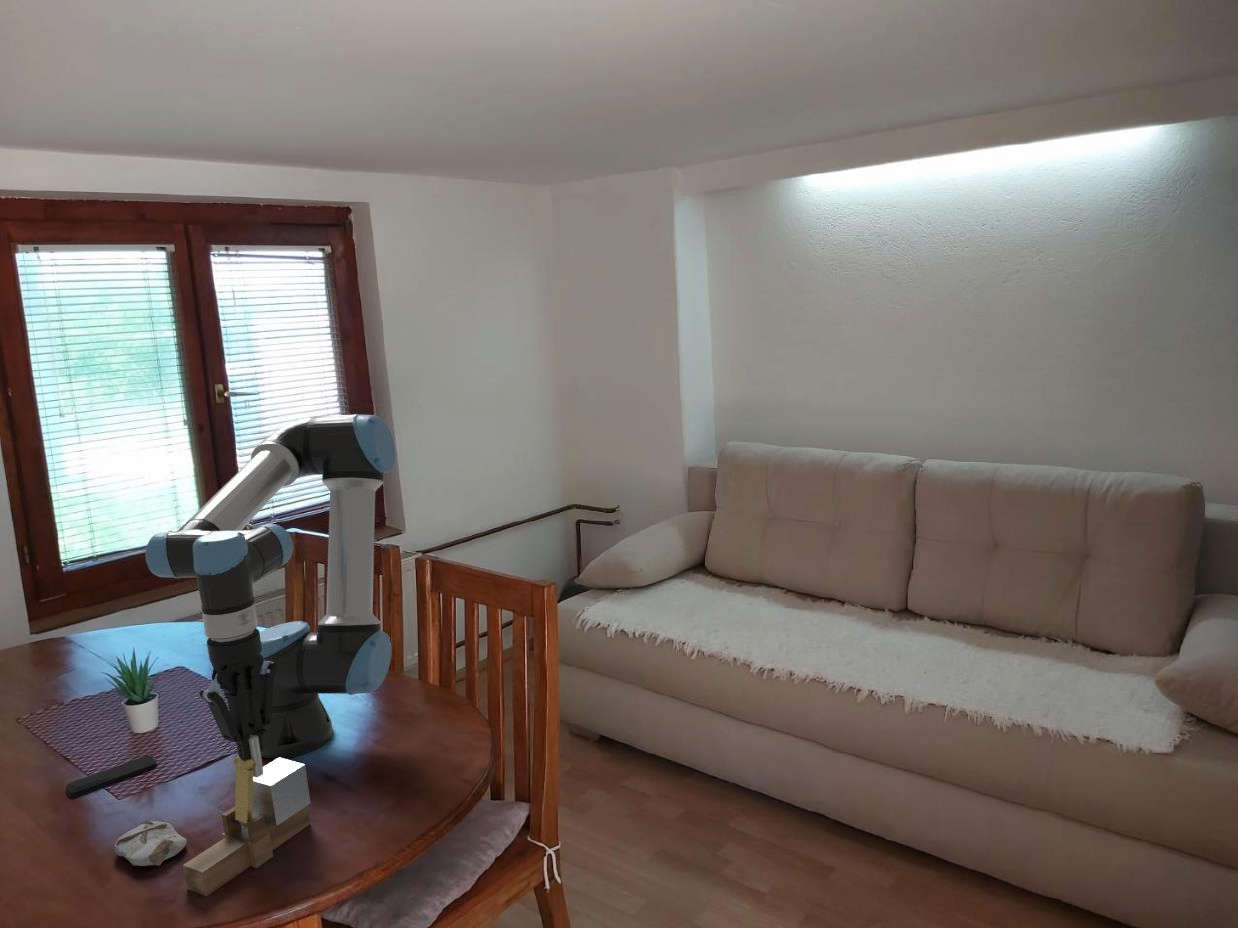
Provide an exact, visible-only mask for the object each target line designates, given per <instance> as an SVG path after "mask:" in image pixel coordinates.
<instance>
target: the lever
mask: <svg viewBox="0 0 1238 928" xmlns="http://www.w3.org/2000/svg"><path fill="white" fill-rule="evenodd" d="M232 763H233V766H234V767H235V793H234V794H235V795H234V796H235V797H234V798H235V799H234V802H235V803H234V807H235V817H234V818H233V820H232V821H233V823H236V824H239V825H242V826H245V827H247V822H249V821H250V820H252V819H254V818H253V769H254V768H255V766H256V762H255V761H254V760H251V759H248V760H243V759H240V757H239V755H238V756H236V757H234V759H233V762H232Z"/></svg>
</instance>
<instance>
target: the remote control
mask: <svg viewBox="0 0 1238 928" xmlns="http://www.w3.org/2000/svg"><path fill="white" fill-rule="evenodd" d="M157 767H158V764H157V762H156V760H155V758H154V757H153V756H152V755H144V756H141V757H139V758H136V759H133V760H131V761H128V762H124V763H122V764H119V765H116V766H114V767H110V768H107V769H104V770H102V771H98V772H95V773H93V774H91V775H87V776H85V777H83V778H79V779H76V780H74V781H73V780H72V781H71V782H69V783H67V784H66V785H65V792H66V794H67V795H68V797H69V798H72V799H73V798H78V797H79V796H83V795H86V794H88V793H91V792H94V791H96V790H100V789H102V788H105V787H108V786H110V785H113V784H115V783H118V782H120V781H121V782H122V781H125V780H126V779H129V778H132V777H135V776H137V775H140V774H144V773H145V772H148V771H151V770H154V769H157Z"/></svg>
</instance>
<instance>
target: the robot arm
mask: <svg viewBox="0 0 1238 928" xmlns="http://www.w3.org/2000/svg"><path fill="white" fill-rule="evenodd" d="M395 445H396V444H395V441H394V437H393V435H392V432H391V430H390V428H389V426H388V423H386V421H385V420H384V419H383V418H381V417H380V416H377V415H375V414H360V413H355V414H344V415H343V414H341V415H329V416H328V415H327V416H308V417H304V418H303V417H302V418H300V419H297V420H294V421H292V422H290V423H288V424H285V425H284V426H282V427H280V428H279V429H277V430H276V431H274V432H273V433H271V434H270V435H268V436H267V437H266V438H265V439H263V440H262V441H261V442H259V444H258V445H257V446H256V447H255V448H254V449H253V451H252V452H251V455H250V460H249V461H248V462H247V463H245V465H244V466H243V467H242V468H241V469H240V470H239V471H238V472H237V473H236V474H235V475H233V477H231V478H230V480H229V481H227V482H226V483H225V484H224V485H223V486H222V487H221V488H220V489H219V490H218V491H216V493H215V494H214V495H213V496H211V498H210V499H209V500H208V501H206V503H204V505H203V506H201V508H199V510H197V511H196V513H195V514H193V515H192V516H191V517H190V518H189V519H188V520H187V521H186V522H185V523H184V524H183V525H182V526H181V527H180V528H179V529H178V530H175V531H172V530H167V531H163V532H161V531H160V532H157V533H155V534H154V535H152V536H151V537H150V538H149V540H148V543H147V545H146V548H145V554H144V555H145V561H146V564H147V567H148V569H149V571H150V572H151V574H153V575H155V576H156V577H159V578H174V579H186V578H187V579H191V578H196V581H197V588H198V594H199V597H200V607H201V613H202V622H203V627H204V635H205V636H206V638H208V639H207V640H206V646H207V652H208V659H209V661H210V663H211V665H212V673H211V682H210V684H209V686H207V688H206V689H205V688H204V689H201V690H200V692H199V697H200V698H201V699H203V700H204V701H205V702H206V703H207V705H208V707H209V709H210V711H211V714H212V716H213V718H214V720H215V723H216V725H217V727H218V729H219V732H220V734H221V736H222V739H224V740H225V741H229V742H231V743H236V747H237V753H238V756H239V757H240V759H243V760H248V759H251V760H254V761H255V762H256V766H255V768H254V769H253V777H256V778H258V777H260V776H261V775H263V774H264V772H263V767H264V766H263V760H262V758H265V759H273V760H276V759H277V758H279V757H280V758H283V759H288V758H292V757H298V756H300V755H304V754H307V753H309V752H312V751H314V750H317V749H318V748H320V747H321V746H323V745H325V744H326V743H327V742H328V741H329V740H330V739H331V738H332V735H333V733H334V732H333V731H334V730H333V723H332V719H331V717H330V715H329V713H328V712H327V709H326V708H325V706H324V704H323V702H322V700H321V699H320V696H319V695H320V694H321V695H322V694H323V695H325V694H329V695H330V694H333V695H337V694H339V695H341V694H343V695H346V694H347V695H349V696H353V695H354V696H355V695H357V694H358V695H359V694H371V693H373V692H375V691H376V690H377V689H378V688H380V686H381V685H382V684H383V682H384V680H385V678H386V677H387V674H388V672H389V668H390V665H391V658H392V643H391V638H390V636H389V635H388V633H386V632H384V631H382V630H381V621H380V620H379V619H378V618H377V616H375V615H374V613H373V605H374V604H373V601H374V596H373V595H374V593H373V592H374V560H375V559H374V558H375V556H374V555H375V552H374V551H375V522H376V521H375V516H376V492H377V490H378V489H379V488H380V487H381V486H382V485H383V484H384V474H388V473H390V472H391V471H392V470H393V469H394V466H395V465H394V464H395V462H396V446H395ZM313 475H317V476H320V475H321V476H322V477H321V479H322V480H321V481H322V483H323V485H324V486H325V487H326V488H327V489H328V490H329V510H328V511H329V512H328V513H329V514H328V515H329V518H328V519H329V520H328V550H327V551H328V552H327V581H326V583H327V584H326V585H327V586H326V612H325V613H326V614H325V615H324V616H323V618H321V620H320V621H318V623H317V631H316V632H315V631H313V632H312V631H311V626H309V623H308V622H307V621H306V622H305V621H301V620H299V621H297V620H296V621H295V620H294V621H290V622H289V621H288V622H285V623H284V622H283V623H280V624H277V625H274V626H272V627H268V628H266V629H264V630H262V631H260V630H259V629H257V628H258V626H259V620H258V615H257V607H256V602H255V600H256V599H255V594H254V587H253V584H255V583H256V582H258V581H259V580H261V579H263V578H265V577H267V576H269V575H270V574H272V573H275V571H276V572H277V571H278V570H279V569H281V568H282V567H283V566H284V565H285V564H286V563H288V562H289V561H290V559H291V558H292V556H293V554H294V553H293V552H294V543H293V539H292V537H291V535H290V533H289V532H288V531H287V530H286V528H284V527H283V526H281V525H279V524H274V523H267V524H263V525H258V526H255V527H254V528H253V529H245V527H246V526H247V525H248V524H249V523H250V522H251V521H252V520H253V519H254V517H256V515H257V514H259V512H260V511H261V510H262V509H263V508H264V507H265V506H266V504H268V503H269V502H270V500H272V498H273V497H274V496H275V495H276V494H277V492H279V491H280V489H282V487H288V486H290V485H291V484H292V485H293V483H294V482H295V481H296V480H297V479H298V478H302V477H306V476H313ZM221 690H222V691H223V693H222V691H221ZM223 694H224V698H225V699H226V700H227V703H226V702H225V700H224V698H223V697H222V696H223ZM227 704H228V706H227Z"/></svg>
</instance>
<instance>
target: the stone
mask: <svg viewBox="0 0 1238 928" xmlns="http://www.w3.org/2000/svg"><path fill="white" fill-rule="evenodd" d="M187 841H188V840H187V838H185V837H183V836H182V835H180V834H179V833H178V832H177V831H176V829H175V828H174V827H173V825H172V824H171V823H169V822H165V821H153V820H152V821H150V820H146V821H142V822H140V823H139V825H138V826H137V827H135V828H132V829H131V830H128V831H127V832H125V833H124V834H123V835H120V836H119V837H118V839H117V840H116V842H115V844H114V852H115V853H116V855H117V856H119V857H124V858H125V859H126V860H127V861H128V862H129V863H130V864H131V866H134V867H135V866H136V867H138V866H139V867H146V866H157V867H159V866H161V864H162V865H163V862H164V861H166V860H168V859H171V858H172V857H174V856H176V855H177V854H179V853H180V852H182V850H183V849H185V847H186V846H187Z"/></svg>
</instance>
